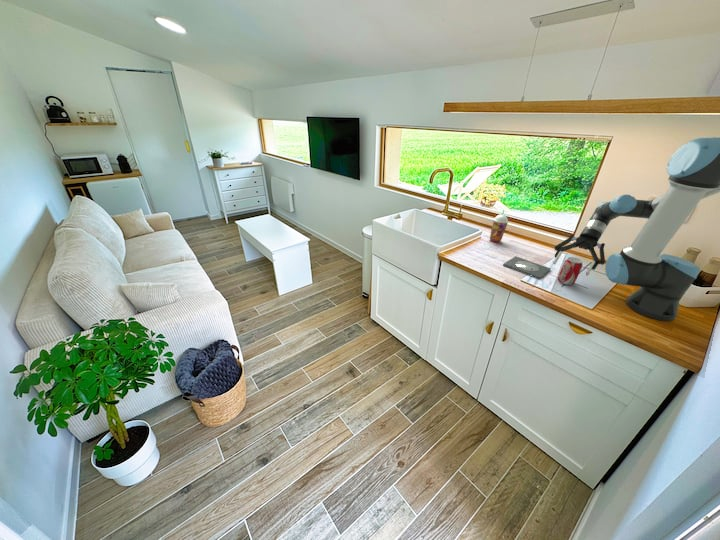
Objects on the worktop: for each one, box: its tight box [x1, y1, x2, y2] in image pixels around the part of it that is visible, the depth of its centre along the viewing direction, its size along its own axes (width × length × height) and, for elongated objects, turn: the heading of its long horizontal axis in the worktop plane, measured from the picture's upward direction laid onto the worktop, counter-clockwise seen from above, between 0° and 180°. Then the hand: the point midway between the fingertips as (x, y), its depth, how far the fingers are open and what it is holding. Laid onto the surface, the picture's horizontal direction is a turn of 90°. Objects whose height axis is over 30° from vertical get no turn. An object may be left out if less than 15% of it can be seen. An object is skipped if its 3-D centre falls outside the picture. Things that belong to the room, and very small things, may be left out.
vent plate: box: [502, 255, 552, 280], centre depth 146 cm, size 18×15×1 cm
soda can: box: [557, 256, 583, 286], centre depth 131 cm, size 7×7×12 cm
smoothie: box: [489, 209, 509, 244], centre depth 173 cm, size 8×8×20 cm
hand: (569, 268), depth 132 cm, fingers open, 13 cm apart
